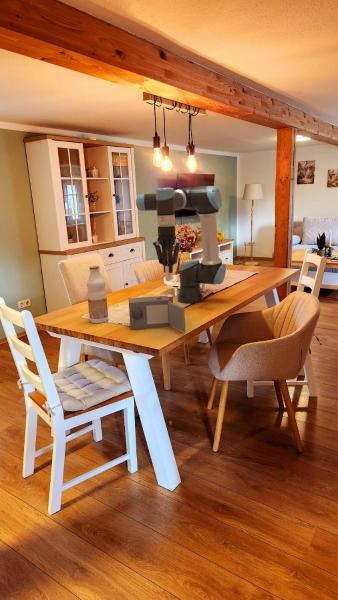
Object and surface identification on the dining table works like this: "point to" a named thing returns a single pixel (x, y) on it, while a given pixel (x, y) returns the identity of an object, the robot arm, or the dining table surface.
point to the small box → (168, 297)
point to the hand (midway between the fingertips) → (168, 280)
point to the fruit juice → (97, 296)
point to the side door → (176, 316)
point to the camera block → (149, 312)
